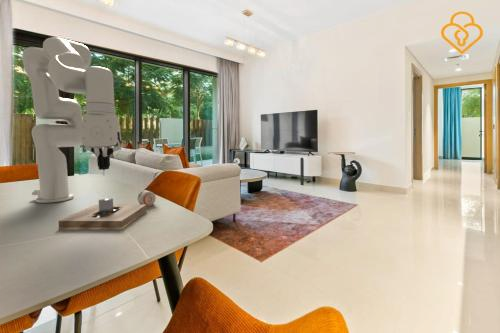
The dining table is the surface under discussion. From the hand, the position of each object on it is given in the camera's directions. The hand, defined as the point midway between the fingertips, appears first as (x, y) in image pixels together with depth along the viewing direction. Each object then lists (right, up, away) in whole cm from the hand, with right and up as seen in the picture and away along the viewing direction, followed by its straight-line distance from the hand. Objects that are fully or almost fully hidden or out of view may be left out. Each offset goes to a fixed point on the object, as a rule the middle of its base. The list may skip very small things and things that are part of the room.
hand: (104, 169), depth 80 cm
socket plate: (0, -16, +2) cm, 16 cm away
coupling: (0, -16, +2) cm, 16 cm away
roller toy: (+6, -15, +19) cm, 24 cm away
